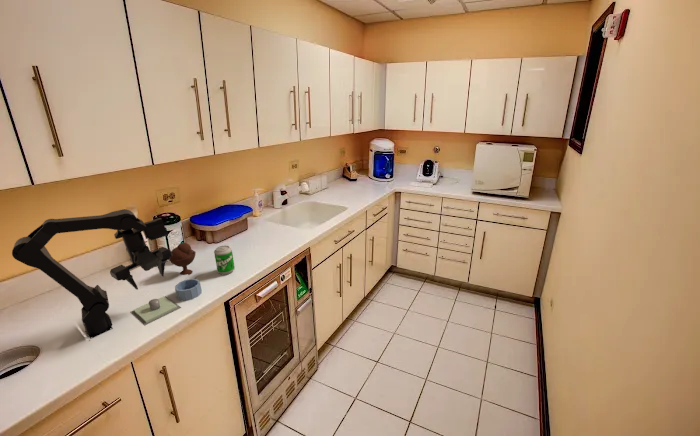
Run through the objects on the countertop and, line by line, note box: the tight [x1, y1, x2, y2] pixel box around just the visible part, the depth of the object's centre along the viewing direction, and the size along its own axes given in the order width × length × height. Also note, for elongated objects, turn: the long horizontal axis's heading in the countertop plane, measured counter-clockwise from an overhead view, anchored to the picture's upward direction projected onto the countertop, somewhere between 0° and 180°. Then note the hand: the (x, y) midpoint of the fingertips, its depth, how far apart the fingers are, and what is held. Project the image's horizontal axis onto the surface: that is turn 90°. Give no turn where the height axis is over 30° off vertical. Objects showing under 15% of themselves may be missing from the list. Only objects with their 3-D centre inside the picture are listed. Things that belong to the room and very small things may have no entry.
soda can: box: [213, 244, 235, 276], centre depth 147 cm, size 8×8×12 cm
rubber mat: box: [129, 295, 182, 326], centre depth 122 cm, size 13×13×1 cm
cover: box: [133, 295, 178, 323], centre depth 121 cm, size 11×11×4 cm
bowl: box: [174, 278, 202, 302], centre depth 131 cm, size 9×9×5 cm
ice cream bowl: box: [168, 242, 196, 276], centre depth 146 cm, size 11×11×15 cm
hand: (150, 282), depth 118 cm, fingers open, 9 cm apart
